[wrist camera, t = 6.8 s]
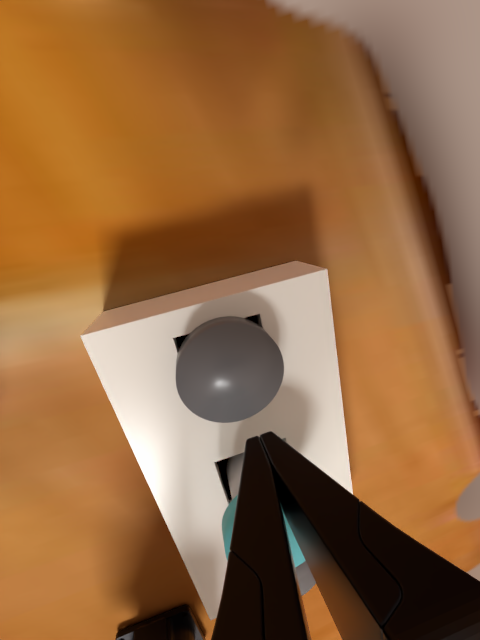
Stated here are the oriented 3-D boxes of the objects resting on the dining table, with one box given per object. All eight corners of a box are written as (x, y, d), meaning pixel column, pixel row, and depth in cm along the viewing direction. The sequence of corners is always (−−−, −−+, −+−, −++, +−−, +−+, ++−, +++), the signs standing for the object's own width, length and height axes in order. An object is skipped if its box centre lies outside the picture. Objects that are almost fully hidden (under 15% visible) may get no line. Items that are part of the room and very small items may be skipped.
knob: (265, 363, 19) (291, 403, 15) (189, 386, 18) (193, 436, 14) (249, 289, 17) (273, 310, 13) (165, 312, 17) (160, 342, 12)
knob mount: (333, 510, 26) (360, 558, 22) (205, 559, 24) (210, 620, 20) (296, 260, 18) (327, 268, 14) (102, 311, 16) (80, 335, 13)
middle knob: (297, 479, 19) (332, 553, 15) (224, 506, 19) (238, 591, 14) (285, 419, 18) (320, 482, 13) (204, 446, 17) (213, 522, 13)
